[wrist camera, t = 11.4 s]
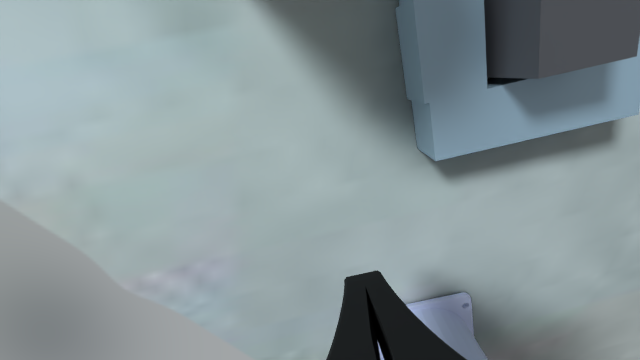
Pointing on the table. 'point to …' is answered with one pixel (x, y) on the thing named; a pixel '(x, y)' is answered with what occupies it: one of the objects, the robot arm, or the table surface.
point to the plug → (558, 35)
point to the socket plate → (495, 85)
